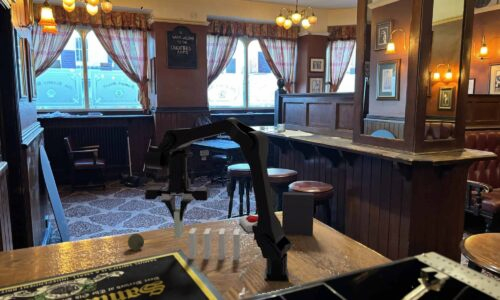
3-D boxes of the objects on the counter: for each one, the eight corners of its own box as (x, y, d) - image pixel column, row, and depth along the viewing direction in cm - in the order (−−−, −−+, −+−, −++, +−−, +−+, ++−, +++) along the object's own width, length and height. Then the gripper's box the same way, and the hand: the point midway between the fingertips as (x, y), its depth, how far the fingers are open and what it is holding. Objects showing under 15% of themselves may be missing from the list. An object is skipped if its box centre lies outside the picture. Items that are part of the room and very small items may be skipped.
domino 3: (208, 259, 115) (208, 233, 114) (203, 259, 115) (203, 233, 114) (211, 252, 120) (211, 228, 119) (206, 252, 120) (206, 228, 119)
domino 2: (194, 259, 115) (193, 233, 114) (188, 258, 115) (188, 233, 114) (197, 252, 120) (196, 228, 119) (192, 252, 120) (191, 227, 119)
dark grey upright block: (312, 232, 139) (313, 192, 137) (312, 236, 135) (314, 195, 133) (282, 231, 140) (282, 191, 138) (281, 235, 136) (282, 194, 134)
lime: (146, 247, 124) (145, 232, 123) (135, 252, 120) (135, 237, 119) (135, 245, 126) (134, 230, 125) (124, 250, 121) (124, 235, 121)
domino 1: (179, 237, 115) (179, 212, 114) (174, 237, 115) (173, 212, 114) (183, 232, 120) (183, 207, 119) (178, 232, 120) (177, 207, 119)
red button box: (272, 219, 141) (246, 222, 138) (272, 231, 141) (246, 233, 139) (262, 210, 153) (238, 212, 150) (262, 221, 153) (238, 223, 150)
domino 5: (238, 260, 114) (238, 234, 113) (233, 260, 115) (233, 234, 114) (239, 253, 119) (240, 229, 118) (234, 253, 119) (234, 228, 118)
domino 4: (223, 259, 115) (223, 234, 114) (218, 259, 115) (218, 234, 114) (225, 253, 120) (225, 228, 119) (220, 253, 120) (220, 228, 119)
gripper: (212, 166, 122) (212, 213, 124) (154, 165, 123) (156, 212, 125) (206, 172, 111) (206, 224, 113) (143, 172, 112) (144, 223, 114)
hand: (178, 220), depth 117 cm, fingers closed on domino 1, 2 cm apart
